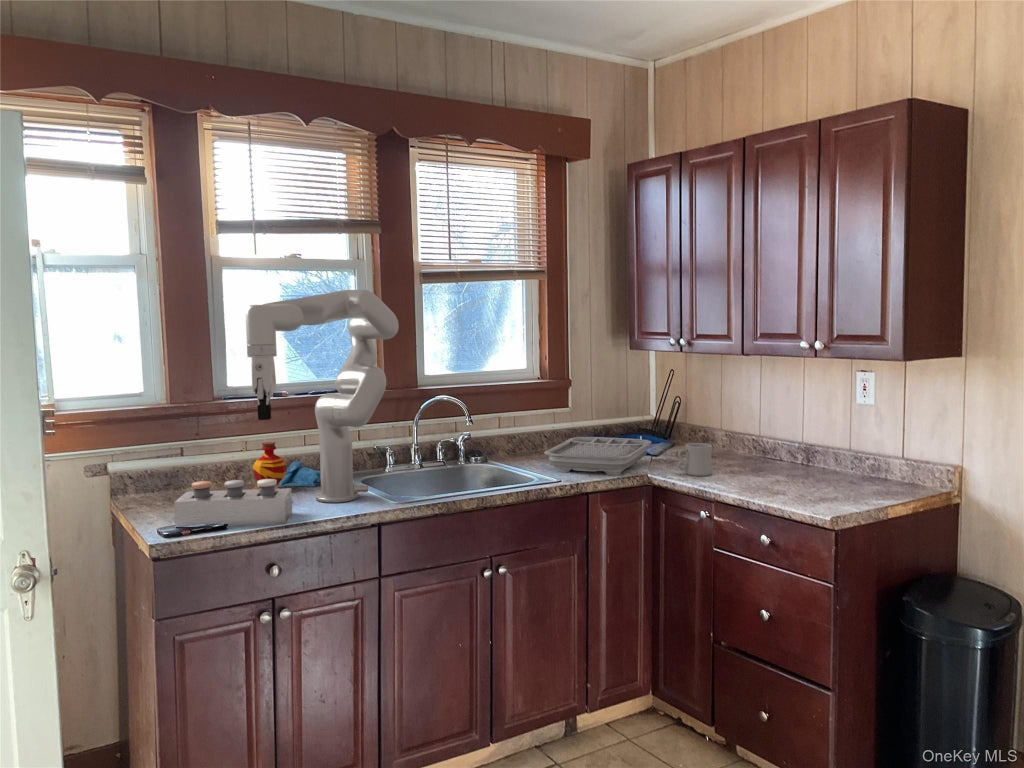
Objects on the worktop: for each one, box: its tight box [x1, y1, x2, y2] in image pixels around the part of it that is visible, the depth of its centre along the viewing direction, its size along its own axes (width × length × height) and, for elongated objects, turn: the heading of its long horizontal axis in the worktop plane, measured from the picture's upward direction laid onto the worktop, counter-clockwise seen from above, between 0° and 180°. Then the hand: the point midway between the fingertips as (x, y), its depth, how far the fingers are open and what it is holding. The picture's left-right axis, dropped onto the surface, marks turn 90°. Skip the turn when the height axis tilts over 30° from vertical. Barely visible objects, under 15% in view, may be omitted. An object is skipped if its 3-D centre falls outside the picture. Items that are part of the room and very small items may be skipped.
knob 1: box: [191, 480, 213, 498], centre depth 219 cm, size 5×5×8 cm
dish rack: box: [543, 436, 652, 476], centre depth 291 cm, size 32×37×8 cm
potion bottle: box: [252, 441, 287, 487], centre depth 257 cm, size 10×10×15 cm
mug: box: [677, 442, 713, 477], centre depth 276 cm, size 12×9×10 cm
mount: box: [174, 487, 293, 528], centre depth 220 cm, size 28×12×7 cm, turn 97°
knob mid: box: [224, 479, 245, 497], centre depth 220 cm, size 5×5×8 cm
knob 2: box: [256, 479, 277, 496], centre depth 221 cm, size 5×5×8 cm
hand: (264, 419), depth 220 cm, fingers closed
